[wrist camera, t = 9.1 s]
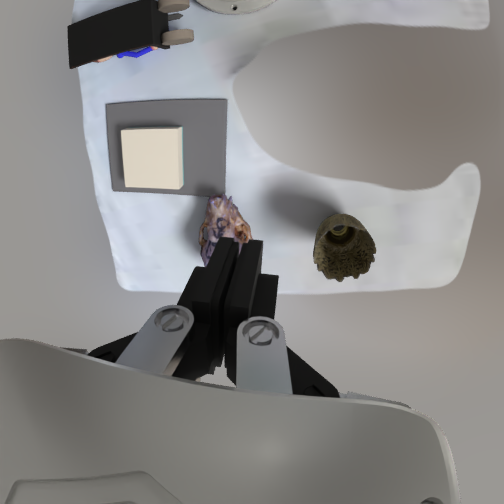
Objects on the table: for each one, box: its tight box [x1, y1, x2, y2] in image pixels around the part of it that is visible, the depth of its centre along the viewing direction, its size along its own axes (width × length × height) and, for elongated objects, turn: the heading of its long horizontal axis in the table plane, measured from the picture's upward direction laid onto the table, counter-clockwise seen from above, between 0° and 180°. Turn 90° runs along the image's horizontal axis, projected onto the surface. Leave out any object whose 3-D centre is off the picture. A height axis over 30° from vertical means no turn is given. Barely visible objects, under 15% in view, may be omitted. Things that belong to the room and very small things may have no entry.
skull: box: [199, 194, 253, 267], centre depth 42 cm, size 12×8×6 cm, turn 177°
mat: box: [106, 99, 227, 197], centre depth 40 cm, size 13×17×1 cm
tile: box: [121, 126, 184, 189], centre depth 39 cm, size 8×2×8 cm
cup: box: [313, 214, 376, 282], centre depth 39 cm, size 8×7×8 cm
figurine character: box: [68, 0, 194, 69], centre depth 29 cm, size 7×8×15 cm
